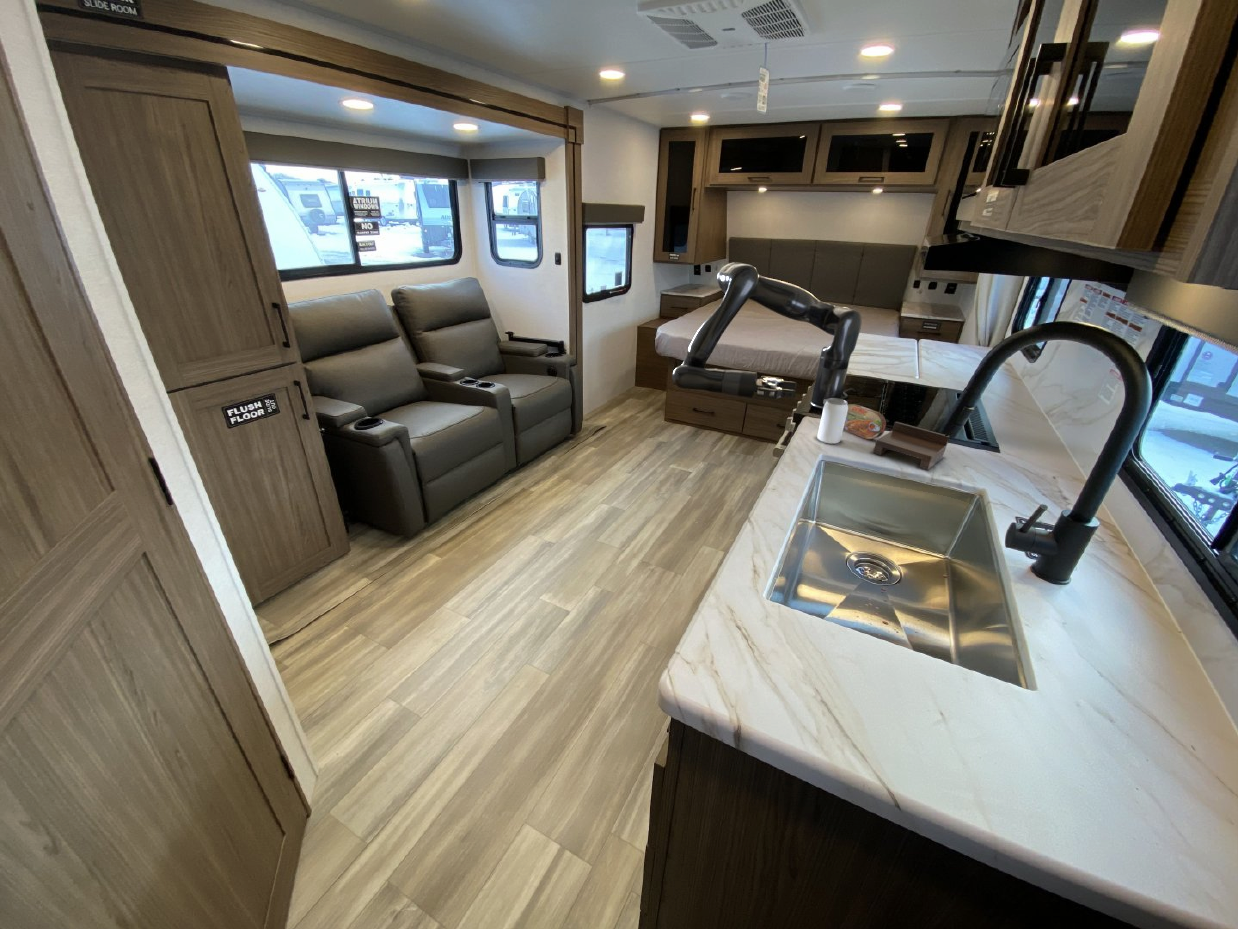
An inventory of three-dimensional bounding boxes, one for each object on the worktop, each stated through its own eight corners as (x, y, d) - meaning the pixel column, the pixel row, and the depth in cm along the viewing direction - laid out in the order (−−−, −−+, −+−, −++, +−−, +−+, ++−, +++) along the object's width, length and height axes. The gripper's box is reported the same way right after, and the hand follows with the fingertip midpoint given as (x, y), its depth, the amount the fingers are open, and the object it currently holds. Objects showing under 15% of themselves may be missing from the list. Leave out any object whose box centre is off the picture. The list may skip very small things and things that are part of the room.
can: (836, 436, 148) (845, 398, 143) (843, 445, 142) (852, 405, 137) (814, 435, 149) (822, 397, 143) (820, 443, 143) (828, 404, 137)
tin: (834, 426, 155) (840, 400, 152) (841, 424, 157) (847, 399, 153) (876, 443, 144) (883, 416, 140) (883, 442, 145) (891, 415, 141)
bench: (890, 442, 145) (895, 421, 142) (942, 457, 136) (950, 436, 133) (872, 453, 138) (878, 431, 135) (927, 470, 128) (934, 447, 126)
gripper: (737, 377, 139) (797, 384, 135) (743, 365, 152) (798, 371, 147) (734, 402, 143) (792, 410, 138) (740, 388, 155) (794, 395, 150)
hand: (795, 390), depth 143 cm, fingers open, 8 cm apart
